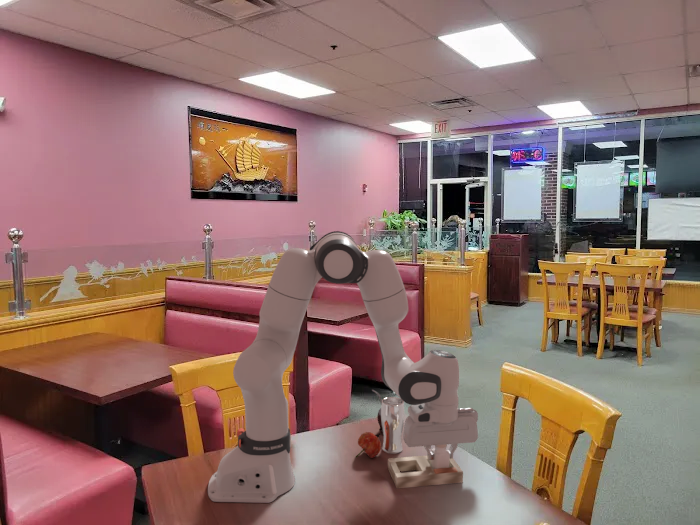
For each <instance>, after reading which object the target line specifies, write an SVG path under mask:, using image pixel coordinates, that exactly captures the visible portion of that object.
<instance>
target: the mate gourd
mask: <svg viewBox="0 0 700 525" xmlns="http://www.w3.org/2000/svg"><path fill="white" fill-rule="evenodd" d="M371 391H372V392H373V393H375V394H376V395H377V398H378V399H379V401H380V405H381V406H382V400H383V399H382V396H381V394H380V393H379V392H378V391H376V390H374V389H371ZM376 418H377V423H378V426H379V429H378V430H379V431H380V432H383V428H382V422H381V407H380V408H379V409H378V411H377V417H376ZM382 436H383V437H384V435H383V434H382Z"/></svg>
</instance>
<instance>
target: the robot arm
mask: <svg viewBox="0 0 700 525" xmlns="http://www.w3.org/2000/svg"><path fill="white" fill-rule="evenodd" d="M322 278H323V279H324V280H325V281H327V282H329V283H331V284H337V285H339V284H340V285H341V284H343V285H344V284H357V286H358V289H359V291H360V292H359V293H360V295H361V298H362V302H363V305H364V307H365V309H366V312H367V314H368V317H369V319H370V321H371V323H372V324H373V327H374V331H375V335H376V338H377V341H378V346H379V349H380V353H381V367H380V368H381V369H380V375H381V379H382V382H383V383H384V385H385V386H386V387H387V388H389V389H390V390H391V391H393V393H394V394H396V396H397V397H398V398H400V399H402V400H403V401H404V404H407V405H409V406H408V407H407V413H408V416H407V417H406V419H404V424H403V432H402V435H403V439H402V440H403V441H404V444H405V445H407V447H408V448H415V447H424V449H425V450H426V453H427V454H426V455H427V458H428V460H434V456H435V454H434V453H433V452H432V451H430V450H432V449H431V448H432V446H435V445H443V444H444V445H445V444H447V445H450V446H449V448H448V449H447V450H448V451H449V453H450V459H452V458H453V459H454V453H455V451H456V450H457V448H458V444H469V443H475V442H477V441H478V439H479V431H478V424H477V422H478V420H479V418H478V417H479V413H478V410H476V409H474V408H473V407H467V408H459V395H458V390H459V388H460V367H459V366H460V365H459V361H458V358H457V357H456V356H455V355H453V354H452V353H451V352H449V351H445V350H442V349H432V350H430V351H429V352H428V353H427V354H426V355H425V356H424V357H423V358H421V359H420V360H418V361H416V362H414V361H413V360H412V359H411V357H409V356H408V354H407V353H406V352H405V349H404V345H403V340H402V336H401V334H400V333H401V332H400V330H399V324H400V323H401V322H402V321H403V320H404V319H405V318H406V316H407V315H408V313H409V309H410V308H409V300H408V295H407V294H408V293H407V291H406V287H405V285H404V282H403V279H402V276H401V273H400V271H399V268H398V266H397V264H396V263H395V260H394V259H393V256H392V255H391V254H390V253H389V252H388V251H387V250H382V249H373V250H369V251H363V250H361V249H360V248H359V246H358V244H357V242H356V241H355V239H354V238H353V237H352V236H351V235H350V234H348V233H346V232H344V231H339V230H337V231H336V230H335V231H331V232H328V233H326V234H325V235H323V236H322V237H320V238H319V239H318V240H317V241H316V242H315V243H314V244H312V245H311V246H310V248H309V250H308V249H304V248H301V247H300V248H299V247H293V248H290V249H287V250H286V251H284V253H283V254H282V256H281V257H280V259H279V261H278V262H277V264H276V267H275V269H274V270H273V273H272V275H271V278H270V281H269V284H268V286H267V290H266V291H265V295H264V298H263V301H262V304H261V307H260V309H259V322H258V327H257V333H256V336H255V338H254V340H253V341H252V343H251V344H250V345H249V346H247V348H245V349H244V350H243V351H242V352H241V353H240V354H239V356H238V358H237V359H236V361H235V364H234V367H233V372H232V374H233V379H234V382H235V383H236V385H237V386H238V387H239V388H240V391H241V394H242V399H243V403H244V413H245V414H244V416H245V418H244V419H245V429H244V428H243V427H240V428H238V430H237V432H236V437H237V446H236V447H235V448H233V449H232V450H231V451H229V452H227V453H226V454H225V455H224V456H223V457H222V458H221V460H220V462H219V464H218V467H217V471H215V472H214V473H213V474H212V475H211V477H210V478H209V481H208V486H207V495H208V498H209V499H210V500H211V501H212V502H214V503H215V502H217V503H260V504H261V503H262V504H263V503H266V504H268V503H271V502H274V501H275V500H276V499H277V498H278V497H279V496H281V495H283V494H285V493H287V492H288V491H290V490H292V488H293V487H294V485H295V484H296V476H295V474H294V471H293V466H292V462H291V461H292V459H291V448H292V440H291V439H292V437H291V430H290V428H289V402H288V399H287V398H286V395H285V392H284V387H283V376H284V373H285V371H286V370H287V369H288V368H289V366H290V365H291V364H292V361H293V359H294V355H295V352H296V347H297V344H298V340H299V335H300V331H301V328H302V324H303V321H304V319H305V315H306V312H307V310H308V308H309V305H310V302H311V299H312V296H313V292H314V290H315V288H316V285H317V284H318V282H319V281H321V279H322Z"/></svg>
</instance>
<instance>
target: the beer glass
mask: <svg viewBox="0 0 700 525" xmlns="http://www.w3.org/2000/svg"><path fill="white" fill-rule="evenodd" d="M381 400H382V405H381V406H380V408H381V422H382V428H383V431H382V436H383V435H384V436H383V441H382V444H381V449H382V451H383V452H384V453H387V454H392V455H393V454H400V453H401V452H402V451H403V445H402V435H403V430H404V425H405V402H404V401H403V400H402V399H401V398H400V397H396V396H395V397H394V396H391V397H390V396H388V397H385V398H383V399H381Z"/></svg>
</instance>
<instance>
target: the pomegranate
mask: <svg viewBox="0 0 700 525" xmlns="http://www.w3.org/2000/svg"><path fill="white" fill-rule="evenodd" d="M381 435H382V433H381V432H379V433H378V434H375V433H373V432H369V431H368V432H367V431H366V432H363V433H361V434H360V436H359V438H358V440H357V444H358V446H359V447H360V448H361V449H362V450H361V451H360V452H359V453H358V454H357V455H356V456H355V457H356V458H357V457H359V456H360V455H361V454H362V453H365V454H366V455H368V457H369V458H370V459H373V458H375V457H376V456H378V455H379V453H380V452H381V449H382V442H381V440H380V438H379V437H380V436H381Z"/></svg>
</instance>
